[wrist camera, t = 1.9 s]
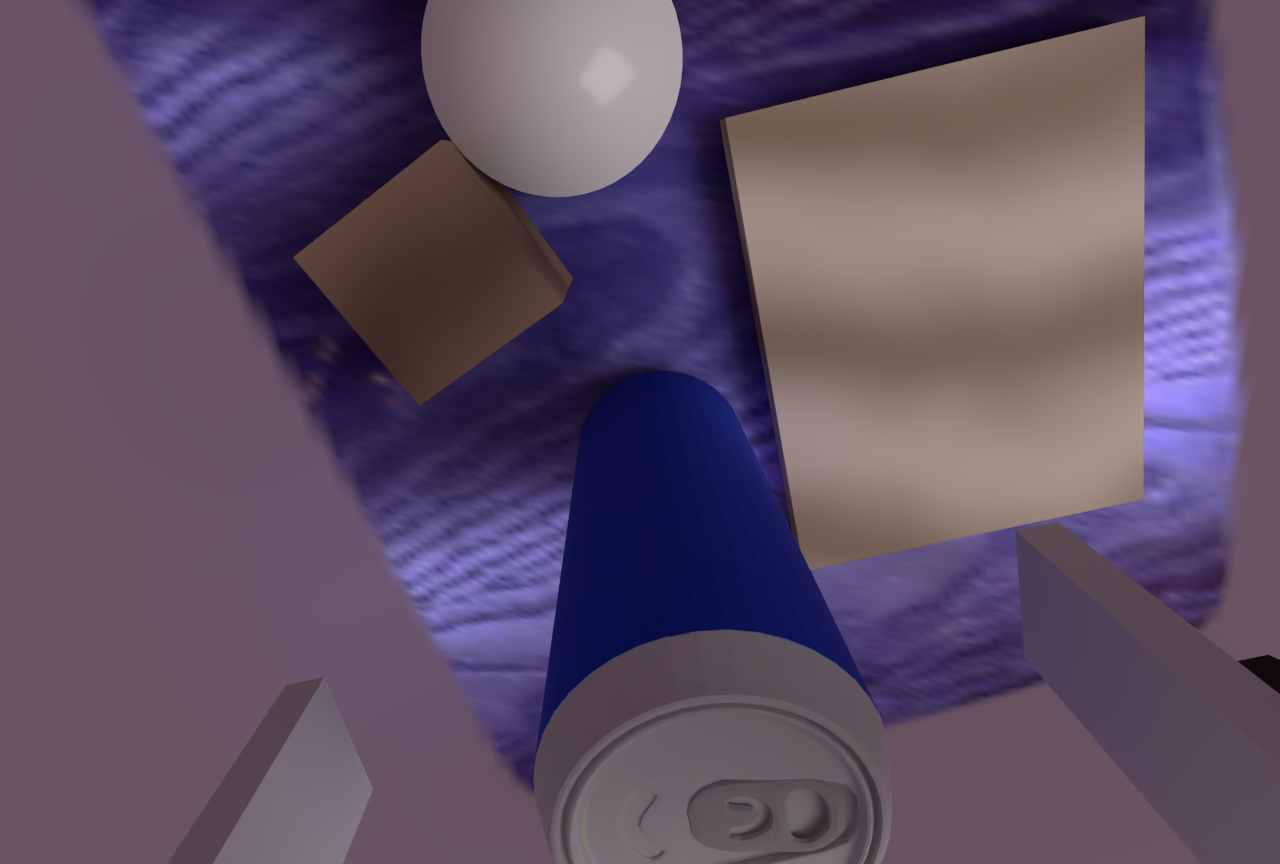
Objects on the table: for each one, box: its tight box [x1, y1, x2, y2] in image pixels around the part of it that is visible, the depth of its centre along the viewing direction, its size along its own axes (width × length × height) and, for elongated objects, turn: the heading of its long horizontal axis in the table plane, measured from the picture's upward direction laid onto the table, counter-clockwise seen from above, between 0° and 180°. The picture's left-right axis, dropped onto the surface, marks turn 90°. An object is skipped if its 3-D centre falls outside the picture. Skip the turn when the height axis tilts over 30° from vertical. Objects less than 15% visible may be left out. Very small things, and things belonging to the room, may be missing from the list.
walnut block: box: [293, 140, 573, 406], centre depth 20 cm, size 4×4×4 cm
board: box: [720, 16, 1145, 570], centre depth 22 cm, size 14×11×1 cm
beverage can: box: [534, 371, 892, 864], centre depth 17 cm, size 5×5×15 cm
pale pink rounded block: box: [421, 0, 682, 197], centre depth 19 cm, size 6×6×4 cm
